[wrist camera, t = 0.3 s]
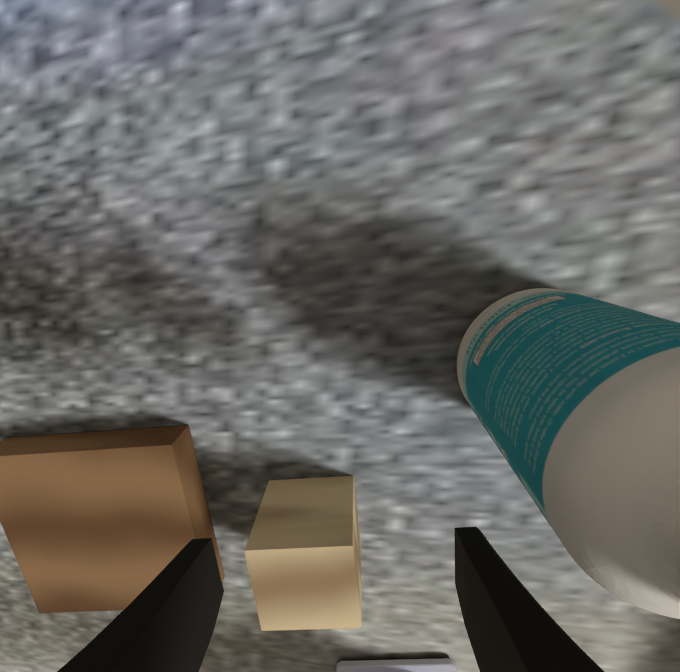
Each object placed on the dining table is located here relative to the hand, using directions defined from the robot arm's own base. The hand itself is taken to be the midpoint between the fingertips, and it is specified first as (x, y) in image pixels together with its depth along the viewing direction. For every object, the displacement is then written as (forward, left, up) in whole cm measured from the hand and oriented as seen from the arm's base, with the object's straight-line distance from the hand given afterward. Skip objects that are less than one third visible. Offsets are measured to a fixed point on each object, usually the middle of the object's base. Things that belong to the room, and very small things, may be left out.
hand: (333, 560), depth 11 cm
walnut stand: (-6, +14, -10) cm, 18 cm away
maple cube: (-7, +2, -10) cm, 12 cm away
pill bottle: (+2, -10, -10) cm, 14 cm away
